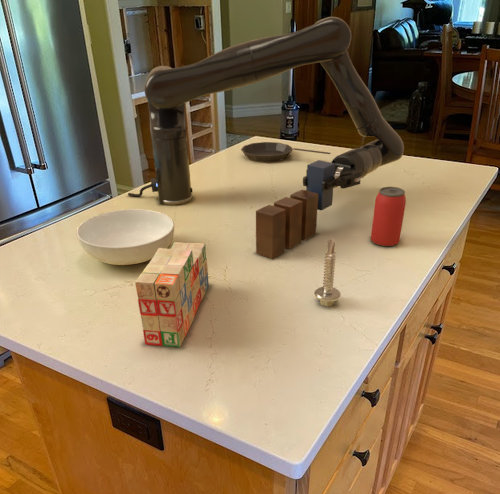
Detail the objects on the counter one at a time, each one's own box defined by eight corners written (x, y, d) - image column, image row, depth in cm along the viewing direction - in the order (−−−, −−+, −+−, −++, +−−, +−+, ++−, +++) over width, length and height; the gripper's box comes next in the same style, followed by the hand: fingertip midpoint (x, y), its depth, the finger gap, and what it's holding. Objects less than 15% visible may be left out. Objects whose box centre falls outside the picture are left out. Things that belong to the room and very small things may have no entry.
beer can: (402, 238, 120) (410, 187, 113) (396, 249, 115) (404, 197, 109) (374, 233, 123) (380, 184, 116) (367, 244, 118) (373, 193, 111)
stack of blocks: (179, 283, 104) (173, 226, 97) (209, 285, 103) (205, 228, 96) (144, 345, 87) (134, 280, 80) (180, 348, 86) (173, 283, 79)
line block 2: (285, 237, 122) (286, 196, 116) (301, 242, 119) (302, 201, 113) (273, 244, 119) (273, 202, 113) (289, 249, 116) (290, 207, 111)
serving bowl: (95, 285, 104) (88, 254, 100) (73, 247, 119) (67, 219, 115) (191, 262, 112) (188, 233, 108) (159, 229, 127) (155, 202, 123)
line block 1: (268, 246, 118) (269, 204, 112) (284, 251, 115) (285, 209, 110) (256, 253, 115) (255, 210, 109) (272, 259, 112) (272, 215, 107)
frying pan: (255, 147, 187) (255, 136, 185) (338, 157, 175) (339, 146, 173) (231, 160, 175) (231, 148, 172) (319, 172, 162) (320, 160, 160)
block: (316, 201, 126) (318, 159, 121) (332, 205, 124) (335, 163, 118) (305, 206, 124) (307, 164, 118) (321, 210, 121) (324, 168, 115)
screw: (344, 306, 96) (321, 312, 94) (331, 294, 100) (309, 299, 98) (351, 241, 88) (326, 247, 87) (336, 231, 92) (312, 236, 91)
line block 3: (300, 229, 125) (302, 189, 120) (316, 234, 123) (318, 193, 117) (289, 235, 123) (290, 194, 117) (304, 240, 120) (306, 199, 114)
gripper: (328, 146, 131) (289, 162, 120) (379, 155, 123) (341, 174, 113) (327, 175, 135) (288, 193, 125) (375, 186, 127) (338, 206, 117)
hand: (313, 184), depth 119 cm, fingers closed on block, 4 cm apart
